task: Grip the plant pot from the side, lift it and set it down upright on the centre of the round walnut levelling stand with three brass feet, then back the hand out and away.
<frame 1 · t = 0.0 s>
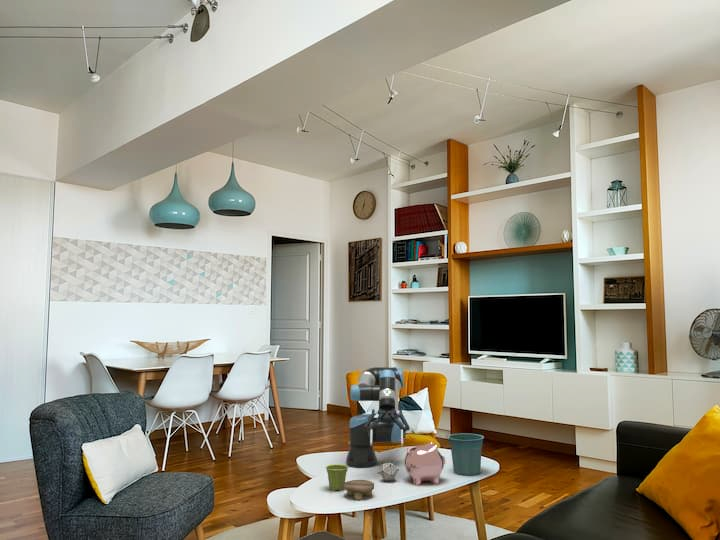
hand: (386, 444, 241), 15 cm above the table, tool tilted 35°, fingers open, 13 cm apart
game die: (388, 481, 239), on the table
levelling stand: (359, 495, 218), on the table
plant pot: (336, 489, 228), on the table
piggy bank: (425, 481, 239), on the table
flower pot: (466, 472, 253), on the table
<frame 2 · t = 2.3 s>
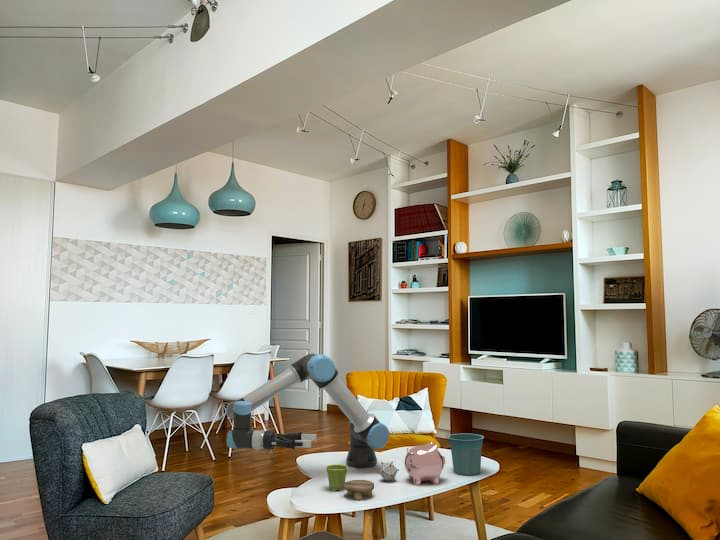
hand: (313, 440, 231), 19 cm above the table, tool horizontal, fingers open, 13 cm apart
nothing on the table moved.
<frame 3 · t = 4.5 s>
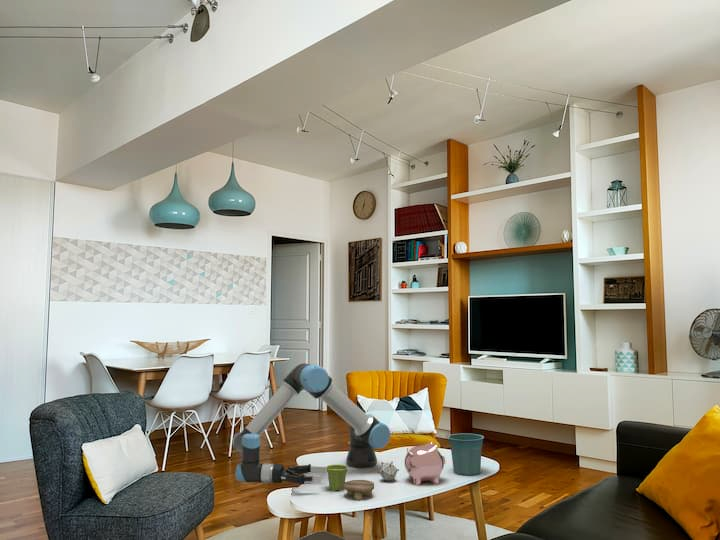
hand: (323, 474, 229), 6 cm above the table, tool horizontal, fingers open, 13 cm apart
nothing on the table moved.
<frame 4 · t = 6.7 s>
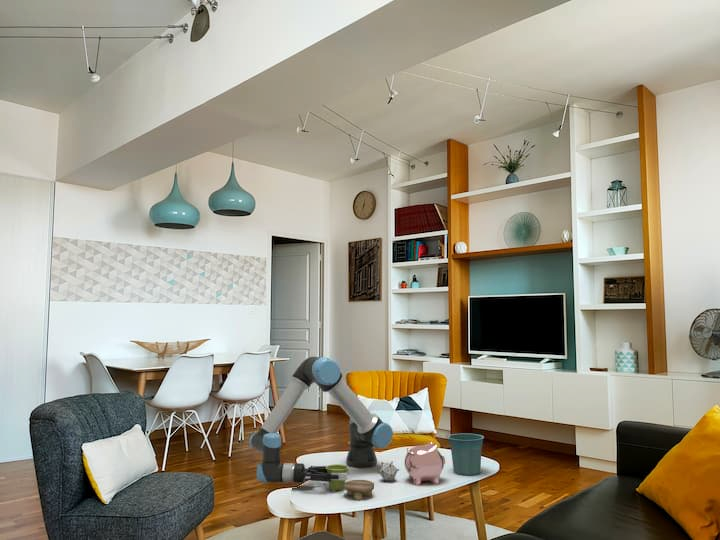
hand: (348, 473, 228), 6 cm above the table, tool horizontal, fingers closed on plant pot, 8 cm apart
plant pot: (336, 489, 228), on the table, touching gripper
everything else where it was.
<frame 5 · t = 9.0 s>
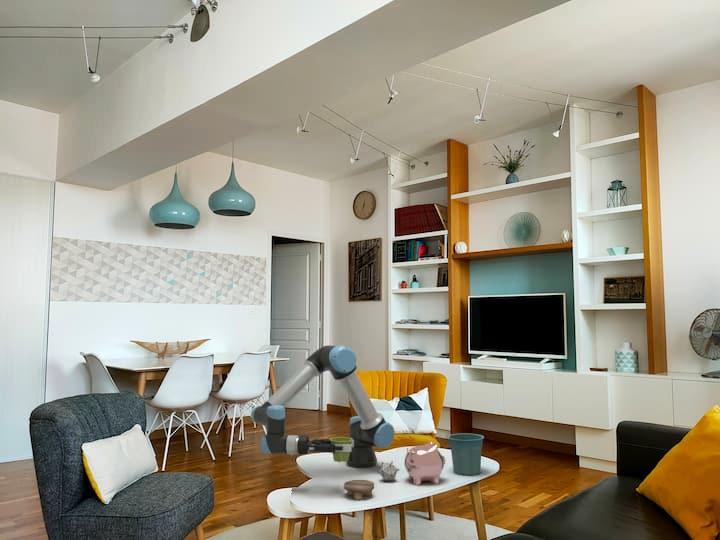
hand: (352, 445, 226), 18 cm above the table, tool horizontal, fingers closed on plant pot, 8 cm apart
plant pot: (341, 461, 226), point 12 cm above the table, touching gripper
everything else where it was.
when the fingers open (12 cm above the table, at t = 11.5 s): plant pot drops 1 cm, point 5 cm above the table.
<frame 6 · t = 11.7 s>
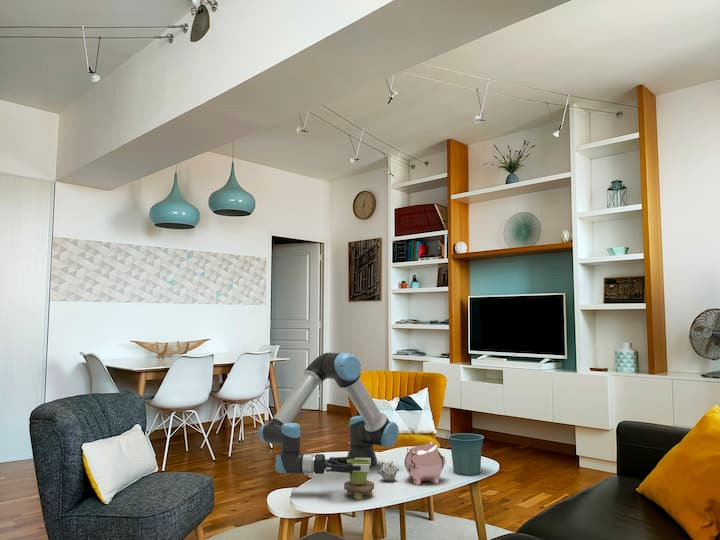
hand: (370, 464, 219), 12 cm above the table, tool horizontal, fingers open, 9 cm apart
plant pot: (358, 484, 218), point 5 cm above the table, touching gripper
everything else where it was.
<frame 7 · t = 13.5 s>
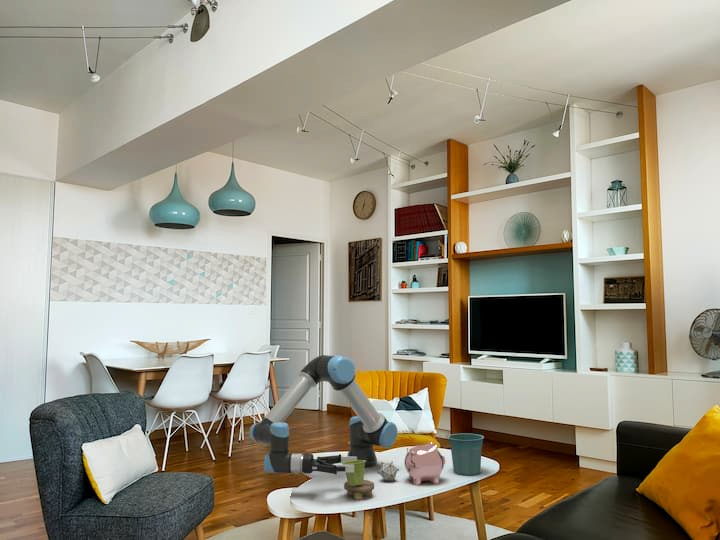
hand: (355, 464, 219), 12 cm above the table, tool horizontal, fingers open, 13 cm apart
plant pot: (356, 485, 216), point 5 cm above the table, touching gripper, levelling stand
everything else where it was.
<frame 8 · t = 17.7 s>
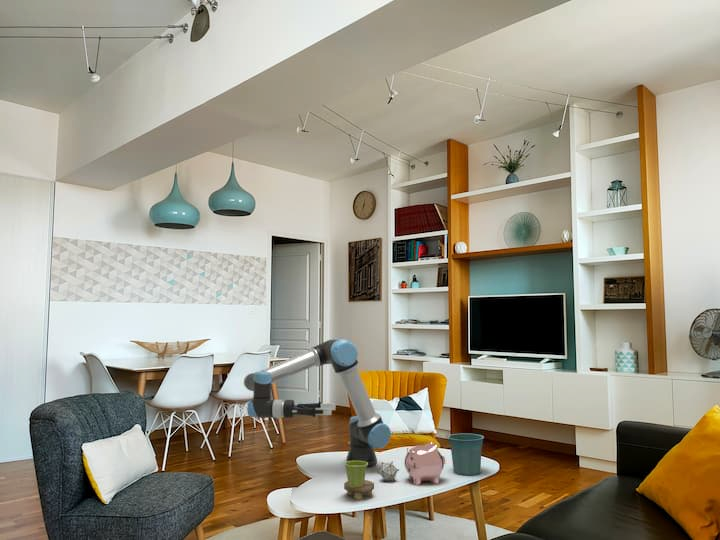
hand: (333, 409, 234), 32 cm above the table, tool horizontal, fingers open, 13 cm apart
plant pot: (356, 486, 216), point 4 cm above the table, touching levelling stand
everything else where it was.
at the end: plant pot inside the target area on the levelling stand (3.0 cm from its centre), point 4.3 cm above the levelling stand's base; plant pot tilted 0°; the gripper is holding nothing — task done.
